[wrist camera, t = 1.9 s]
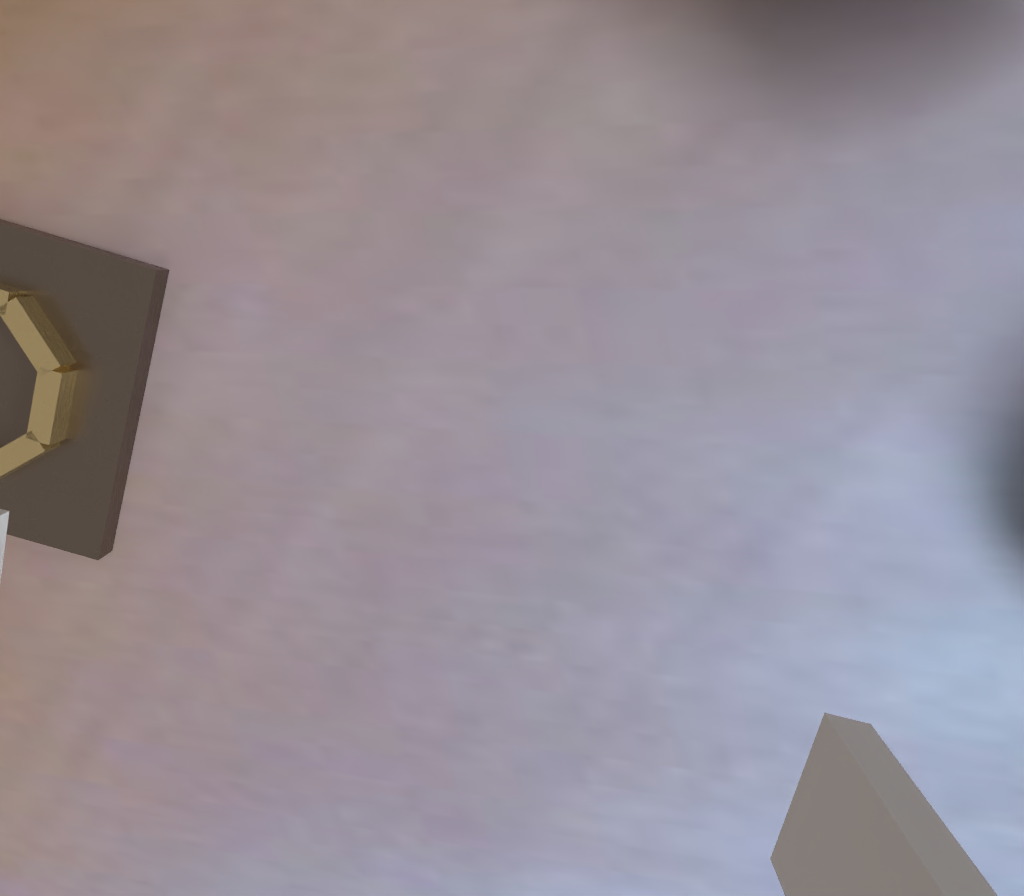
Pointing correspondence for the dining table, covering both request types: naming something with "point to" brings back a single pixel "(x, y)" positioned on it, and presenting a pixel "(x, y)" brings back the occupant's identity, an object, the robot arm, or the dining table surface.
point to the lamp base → (70, 384)
